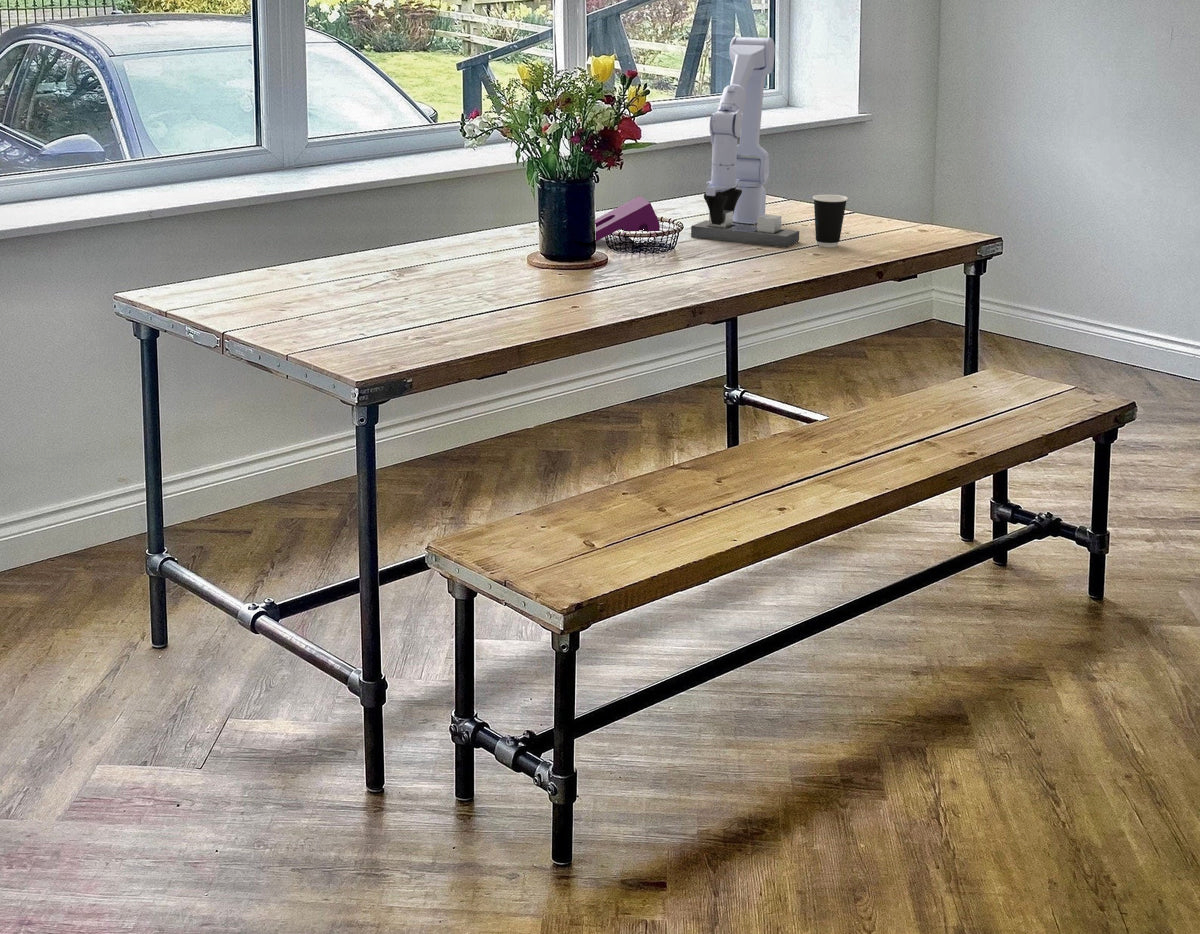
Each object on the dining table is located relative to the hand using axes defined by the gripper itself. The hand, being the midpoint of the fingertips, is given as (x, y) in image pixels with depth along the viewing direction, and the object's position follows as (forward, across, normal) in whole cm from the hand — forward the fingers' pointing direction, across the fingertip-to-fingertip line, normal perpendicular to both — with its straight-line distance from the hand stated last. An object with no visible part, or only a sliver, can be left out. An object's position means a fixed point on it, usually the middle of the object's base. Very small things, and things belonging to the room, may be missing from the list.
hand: (721, 222), depth 337 cm
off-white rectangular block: (+3, 0, +12) cm, 12 cm away
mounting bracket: (+4, +17, -19) cm, 26 cm away
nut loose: (+3, 0, 0) cm, 4 cm away
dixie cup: (+4, -4, +25) cm, 26 cm away
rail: (+3, 0, +6) cm, 7 cm away
